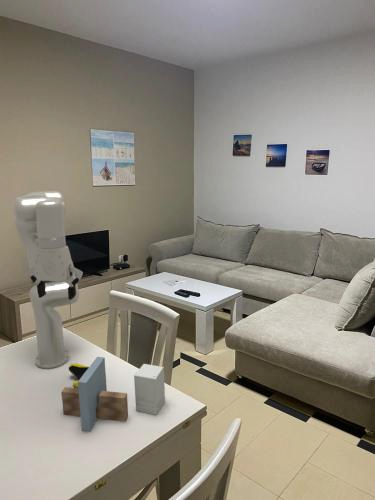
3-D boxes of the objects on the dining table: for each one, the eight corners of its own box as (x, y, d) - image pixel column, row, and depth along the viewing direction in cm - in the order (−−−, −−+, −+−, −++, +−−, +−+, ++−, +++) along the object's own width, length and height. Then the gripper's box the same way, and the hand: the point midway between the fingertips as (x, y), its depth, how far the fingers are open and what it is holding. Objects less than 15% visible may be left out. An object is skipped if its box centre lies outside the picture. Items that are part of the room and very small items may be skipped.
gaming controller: (74, 399, 125) (105, 392, 129) (73, 384, 124) (104, 377, 128) (68, 376, 138) (96, 370, 142) (67, 362, 137) (95, 357, 141)
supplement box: (165, 401, 124) (165, 366, 121) (156, 415, 117) (155, 379, 114) (145, 397, 126) (143, 362, 123) (134, 410, 119) (133, 374, 116)
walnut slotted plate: (63, 414, 118) (61, 391, 116) (67, 409, 120) (65, 387, 118) (125, 421, 114) (124, 398, 112) (128, 416, 117) (127, 393, 115)
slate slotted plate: (100, 401, 124) (97, 356, 120) (107, 401, 124) (104, 357, 120) (81, 430, 111) (77, 381, 107) (90, 431, 110) (86, 382, 106)
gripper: (17, 244, 109) (24, 300, 114) (74, 246, 107) (78, 303, 111) (32, 238, 117) (37, 291, 121) (85, 240, 114) (89, 294, 118)
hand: (57, 297), depth 116 cm, fingers open, 9 cm apart
